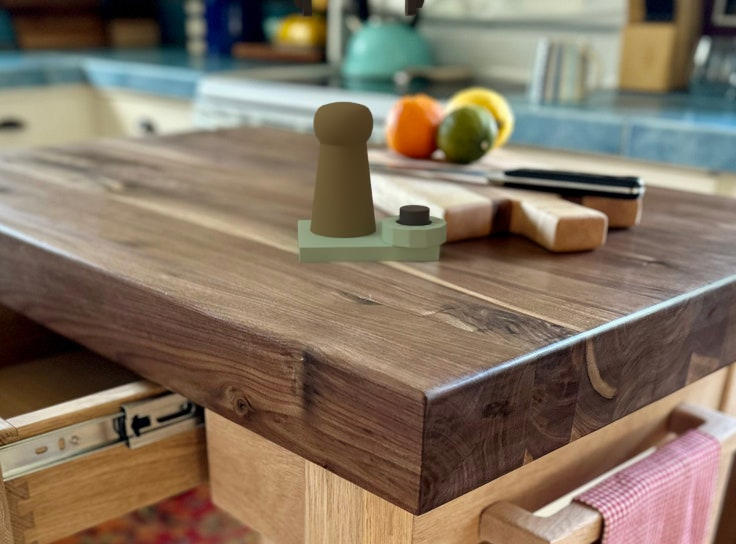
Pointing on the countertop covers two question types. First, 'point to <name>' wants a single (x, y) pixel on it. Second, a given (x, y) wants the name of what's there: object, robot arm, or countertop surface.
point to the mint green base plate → (375, 243)
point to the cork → (343, 172)
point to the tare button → (414, 215)
